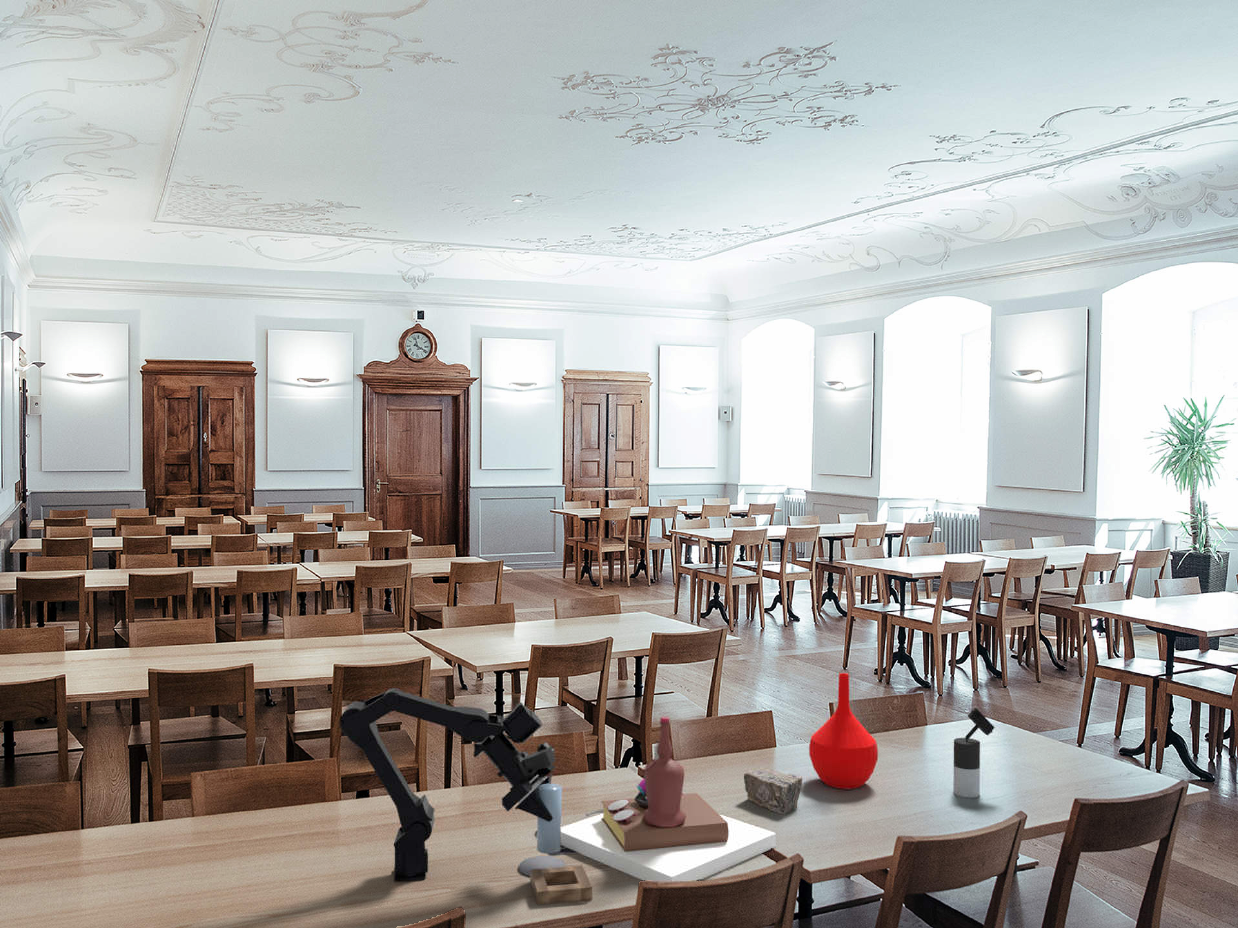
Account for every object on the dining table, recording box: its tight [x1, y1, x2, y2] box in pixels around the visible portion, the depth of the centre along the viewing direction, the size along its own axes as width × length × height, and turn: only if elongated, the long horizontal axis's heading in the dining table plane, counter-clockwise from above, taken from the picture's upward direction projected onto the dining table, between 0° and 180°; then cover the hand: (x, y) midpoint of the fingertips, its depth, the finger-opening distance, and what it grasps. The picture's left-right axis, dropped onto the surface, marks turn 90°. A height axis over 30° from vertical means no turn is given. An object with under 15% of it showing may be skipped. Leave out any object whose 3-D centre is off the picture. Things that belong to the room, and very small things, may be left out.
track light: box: [953, 707, 996, 798], centre depth 269 cm, size 6×17×20 cm
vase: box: [808, 672, 879, 790], centre depth 277 cm, size 18×18×30 cm
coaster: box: [518, 855, 567, 877], centre depth 219 cm, size 10×10×1 cm
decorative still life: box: [561, 716, 777, 882], centre depth 234 cm, size 35×40×31 cm
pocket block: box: [529, 865, 593, 905], centre depth 208 cm, size 11×11×2 cm
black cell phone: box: [534, 830, 579, 857], centre depth 234 cm, size 8×1×15 cm
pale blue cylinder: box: [536, 783, 563, 855], centre depth 214 cm, size 5×5×13 cm
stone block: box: [743, 766, 803, 815], centre depth 260 cm, size 14×9×8 cm, turn 42°
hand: (555, 815), depth 213 cm, fingers closed on pale blue cylinder, 5 cm apart
